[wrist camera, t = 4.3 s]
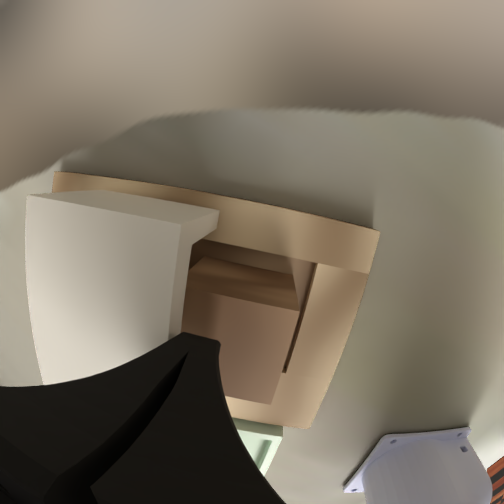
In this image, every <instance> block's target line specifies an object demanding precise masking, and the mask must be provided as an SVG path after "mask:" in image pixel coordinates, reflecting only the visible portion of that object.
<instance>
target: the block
mask: <svg viewBox="0 0 504 504" xmlns="http://www.w3.org/2000/svg"><path fill="white" fill-rule="evenodd" d="M299 313H300V309H299V304H298V298H297V293H296V288H295V282H294V277H293V275H290V274H286V273H281V272H276V271H271V270H267V269H262V268H257V267H253V266H248V265H243V264H239V263H234V262H229V261H225V260H220V259H216V258H211V257H207V256H204V257H203V258H202V259H201V260H200V261H199V262H198V263H196V264H195V265H194V266H193V267H192V268H191V269H190V270H189V271H188V275H187V283H186V290H185V298H184V306H183V315H182V324H181V333H182V332H187V333H191V334H195V335H199V336H203V337H207V338H211V339H215V340H218V341H219V342H220V344H221V347H220V353H219V368H220V375H221V381H222V386H223V391H224V395H225V396H227V397H232V398H237V399H242V400H247V401H252V402H257V403H263V404H268V405H271V403H272V400H273V397H274V394H275V391H276V388H277V385H278V382H279V379H280V376H281V373H282V370H283V367H284V363H285V360H286V357H287V354H288V351H289V347H290V344H291V341H292V337H293V334H294V330H295V327H296V324H297V320H298V317H299Z"/></svg>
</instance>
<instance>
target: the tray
mask: <svg viewBox="0 0 504 504" xmlns="http://www.w3.org/2000/svg"><path fill="white" fill-rule="evenodd" d="M232 419H233V422H234V424H235V427H236V429H237V431H238V433H239V435H240V437H241V439H242V441H243V443H244V445H245V447H246V449H247V450H248V452H249V454H250V455H251V457H252V459H253V460H254V462H255V464H256V465H257V467H258V469H259V470H260V472H261V473H262V474H263V476H265V474H266V472H267V470H268V467H269V465H270V463H271V461H272V459H273V457H274V455H275V453H276V451H277V448H278V446H279V444H280V442H281V440H282V437H283V426H280V425H273V424H267V423H261V422H255V421H249V420H244V419H239V418H234V417H232Z"/></svg>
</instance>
